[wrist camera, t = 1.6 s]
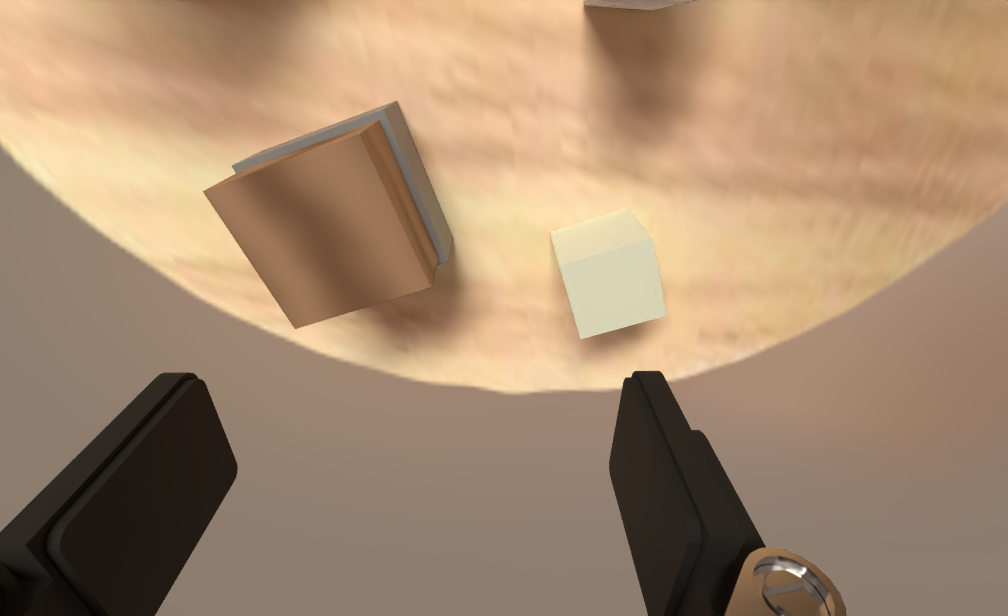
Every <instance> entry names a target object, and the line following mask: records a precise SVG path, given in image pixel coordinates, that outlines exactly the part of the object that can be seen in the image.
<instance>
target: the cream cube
mask: <svg viewBox="0 0 1008 616" xmlns="http://www.w3.org/2000/svg"><path fill="white" fill-rule="evenodd" d="M550 235H551V239H552V243H553V246H554V250H555V253H556V257H557V260H558V264H559V267H560V271H561V274H562V278H563V281H564V284H565V288H566V291H567V294H568V298H569V301H570V305H571V308H572V311H573V315H574V318H575V321H576V325H577V328H578V332H579V335H580V338H581V339H584V338H587V337H591V336H595V335H598V334H602V333H606V332H609V331H613V330H616V329H620V328H624V327H627V326H631V325H635V324H638V323H642V322H646V321H649V320H653V319H656V318H660V317H664V316H666V312H665V306H664V300H663V295H662V289H661V283H660V278H659V272H658V266H657V261H656V255H655V249H654V243H653V238H652V236H651V235H650V234H649V233H648V231H647V230H646V229H645V228H644V226H643V225H642V224H641V222H640V221H639V220H638V219H637V217H636V216H635V215H634V214H633V212H632V211H631V210H630V208H629V207H628V208H625V209H622V210H619V211H616V212H612V213H609V214H606V215H603V216H600V217H596V218H593V219H590V220H587V221H584V222H580V223H577V224H574V225H571V226H568V227H564V228H561V229H558V230H555V231H552V232H550Z"/></svg>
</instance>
